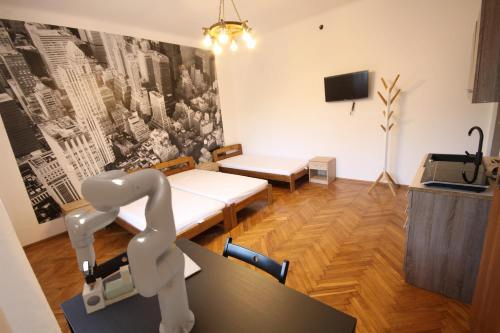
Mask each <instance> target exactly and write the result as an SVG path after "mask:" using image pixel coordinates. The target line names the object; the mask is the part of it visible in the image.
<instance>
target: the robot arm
mask: <svg viewBox="0 0 500 333" xmlns="http://www.w3.org/2000/svg"><path fill="white" fill-rule="evenodd" d="M80 194H81V196H82V198H83V199H84V200H85V201H87V203H89V204H90V205H91V207H92V208H93V209H94V210H93V211H91V212H89V213H88V211H86V210H83V209H80V210H79V209H78V210H74V211H72V212H69V213H68V214H66V215H65V216H64V222H65V223H64V224H65V225H66V230H67V232H68V236H69V240H70V242H71V247H72V249H73V250H75V255H76V261H77V264H78V265H77V266H78V268H79V269H78V270H79V272H83V274H84V279H85V283H87V285H88V284H91V283H94V282H96V279H97V278H95V277H96V274H95V272H94V271H95V270H96V269H98V263H97V260H96V253H95V248H94V242H95V240H96V239H95V237H94V233H96V232H97V231H99V230H101V229H103V228H105V227H106V226H109V225H110V224H111V223H113V222H114V221H115V220H116V218H117V217H118V216H119V214H120V212H121V208H123V207H126V206H129V205H131V204H133V203H136V202H137V201H139V200H141V199H143V198H145V197H147V201H146V203H145V208H144V218H145V223H146V224H145V225H146V226H145V228H144V229H143V230H142V231H140V232H139V233H137V234H136V235H135V236H133V237H132V238H131V239H130V240H129V242H128V244H127V249H126V254H127V259H128V264H129V265H128V266H129V268H130V275H131V276H132V282H134V285H135V288H136V290H137V291H138V292H139V293H138V294H139V295H140V296H142V297H144V298H151V297H154V296H155V295H157V298H158V304H159V309H160V310H159V311H160V316H161V320H160V324H159V329H158V330H159V333H191V331H192V329H193V328H194V326H195V315H194V312H193V311H192V310H191V309H190V308H189V301H188V294H187V287H186V286H187V284H186V278H185V276H184V271H185V257H184V254H183V253H184V251H182V250H181V248H179V247H178V246H177V245H176V246H177V247H176V246H172V245H173V244H174V243H175V242H177V230H176V229H177V228H176V223H175V222H176V221H175V217H174V215H175V214H174V211H173V201H172V199H173V198H172V197H173V196H172V188H171V183H170V181H169V179H168V177H167V176H166V175H165V173H164V172H162V170H161V171H160V170H159V169H156V168H152V167H151V168H144V169H141V170H138V171H134V172H131V173H128V172H126V171H124V170H122V169H112V170H108V171H103V172H102V173H98V174H94V175H92V176H89V177H87V178H86V179H84V180H83V182H82V183H81V186H80Z"/></svg>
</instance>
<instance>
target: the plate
mask: <svg viewBox="0 0 500 333" xmlns="http://www.w3.org/2000/svg"><path fill="white" fill-rule="evenodd" d="M183 254H184V257H185V271H184V276H185V279H186V278H188V277H190V276H191V275H192V276H193V275H194V274H195V273H198V272H199V271H201V269H202V268H201V267H200V266H199V265H198V264H197V263H196V262H195V261H194V260H192V259H191V258H190V257H189V256H188V255H187V254H186V253H185V252H183Z"/></svg>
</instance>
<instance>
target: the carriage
mask: <svg viewBox="0 0 500 333" xmlns="http://www.w3.org/2000/svg"><path fill="white" fill-rule="evenodd" d="M119 273H120V278H117V279H115V280H112V281H109V282H106V283H105V289H104V291H105V293H106V297H107V299H108V300H109V299H111V298H114V297H116V296H119V295H121V294H124V293H127V292H129V291H132V290H134V288H133V278H132V274H131V273H130V270H129V265H128V264H126V265H123V266H120V267H119Z"/></svg>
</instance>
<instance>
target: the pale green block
mask: <svg viewBox="0 0 500 333" xmlns="http://www.w3.org/2000/svg"><path fill="white" fill-rule="evenodd" d="M132 282H133V281H132ZM133 288H134V290H132V291H129V292H127V293H124V294H121V295H119V296H116V297H114V298H111V299H109V300H108V299H107V297H106V293H105V300H104V305H105V307H107V306H110V305H112V304H115V303H117V302H120V301H122V300H125V299H127V298H130V297H132V296H134V295H138V294H140V293H139V292H138V291H137V290H136V288H135V285H134V282H133Z"/></svg>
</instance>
